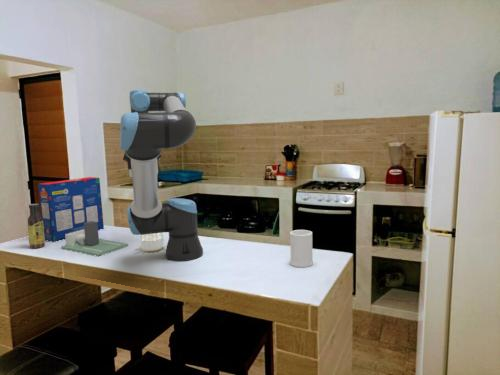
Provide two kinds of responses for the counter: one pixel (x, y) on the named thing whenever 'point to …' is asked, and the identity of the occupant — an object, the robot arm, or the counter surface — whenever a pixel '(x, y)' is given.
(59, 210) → the pasta box
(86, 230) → the striker
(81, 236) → the ball
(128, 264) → the counter surface
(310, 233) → the mug
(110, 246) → the pitch
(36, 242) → the sauce bottle
